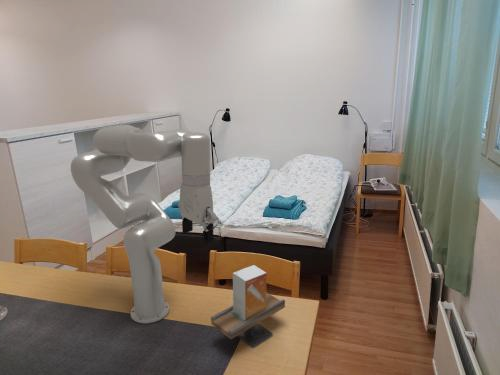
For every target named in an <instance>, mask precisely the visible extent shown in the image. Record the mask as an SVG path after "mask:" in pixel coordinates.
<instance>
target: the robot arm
mask: <svg viewBox="0 0 500 375" xmlns="http://www.w3.org/2000/svg"><path fill="white" fill-rule="evenodd" d="M210 142H211V141H210V136H209V134H207V133H205V132H198V131H197V132H195V131H194V132H193V131H189V130H186V129H183V128H174V129H168V130H167V129H166V130H162V131H156V132H147V133H146V132H144V130H142V129H141V128H139V127H135V126H133V125H131V124H120V125H113V126H112V125H111V126H106V127H102V128H100V129H98V130H97V131H96V132H95V133H94V135H93V137H92V143H93V146H94V148H95V149H96V150H92V151H86V152H83V153H81V154H78V155H76V156H75V157H73V159H72V160H71V163H70V172H71V173H70V174H71V177H72V179H73V181H74V183H75V184H76V186H77V187H78V189H80V191H82V192H83V194H85V195H86V196H87V197H89V198H90V199H91V200H92V201H93V202H94V203H95V205H97V207H98V208H99V210H100V211H101V212H102V213H103V215H104V216H105V217H106V218H107V219H108V221H109V222H110V223H111V225H113V226H114V227H115V228H117V229H120V230H123V229H125V228H126V229H127V228H129V227H130V228H129V229H127V231H126V232H125V233H124V235H123V238H122V240H123V246H124V249H125V252H126V254H127V258H128V263H129V269H130V275H131V276H130V277H131V285H132V286H131V287H132V293H133V294H132V296H133V303H134V306H132V308H131V310H130V318H131V320H132V321H134V322H136V323H139V324H152V323H157V322H159V321H161V320H163V319H164V318H165V317H167V315H168V314H169V312H170V305H169V303H168V302H167V301H166V300H165V298H164V287H163V276H162V266H161V261H160V259H159V257H158V256H157V255H156V254H155V251H156V250H157V249H158V248H160V247H162V246H164V245H166V244H167V243H169V242H171V241H172V240H173V239H174V238H175V236H176V227H175V224H174V222H173V221H172V219H171V218H170V216H169V215H167V213H166V212H165V210H164V209H162V207H161V206H160V205H159V203H157V201H156V200H155V198H153V197H152V196H151V195H149V194H148V193H145V192H135V193H133V194H130V195H126V194H124V193H123V192H122V191H121V190H120V188H119V187H118V186H117V185H116V184H115V183H113V182H111V181H109V180H107V179H105V178H102V177H103V176H107V175H111V174H115V173H118V172H121V171H122V170H124V169H125V168H127V167H126V166H127V165H128V164H129V162H130V161H131V159H133V160H134V161H138V162H148V163H149V162H150V163H151V162H152V163H157V162H158V163H160V162H163V161H167V160H171V159H175V158H179V157H180V158H181V159H180V160H181V184H180V190H179V201H178V202H177V205H178V209H179V210H178V211H179V214H180V215H181V216H180V219H181V228H182V229H181V230H182V233H183V234H187V233H190V232H192V231H193V230H194V229H193V227H194V226H193V225H194V224H193V223H195V224H198V225H199V224H201V225H202V229H203V230H202V244H203V245H204V246H205V245H208V244H211V243H213V242H214V230H216V229H215V228H216V227H217V226H218V222H219V217H218V215H217V214H216V213H215V212H214V201H213V192H212V187H211V143H210ZM140 222H141V223H140ZM207 223H208V225H207Z"/></svg>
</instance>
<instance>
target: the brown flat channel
mask: <svg viewBox="0 0 500 375" xmlns="http://www.w3.org/2000/svg"><path fill="white" fill-rule="evenodd" d="M284 308H286V299H281V300H280V299H279V298H277V297H275V296H273V295H271V294H270V293H268V292H266V309H265V310H264V311H262V312H260V313H258V314H257V315H255V316H253V317H251V318H250V319H248V320H246V321H245V320H244V319H243V318H241V317H240V316H239V315H238V314H236V313H235V312H234V311H233V305H231V306H229V307H227V308H226V309H223V310H221V311H219V312H218V313H216V314H214V315H213V316H210V320H211V325H212V326H213V327H214V328H215V329H217V330H218V331H219V332H221V334H223V335H224V336H226V337H227V338H228V339H229V340H233V339H234V338H236V337H237V336H238V335H239V334H241V333H243V332H244V331H246V330H248V329H249V328H251V327H253V326H254V325H256V324H258V323H259V324H260V323H261V322H263V321H264V320H266V319H268V318H269V317H271V316H273V315H274V314H277V312H280V311H282V310H283V309H284Z"/></svg>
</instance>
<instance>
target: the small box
mask: <svg viewBox="0 0 500 375" xmlns="http://www.w3.org/2000/svg"><path fill="white" fill-rule="evenodd" d="M266 293H267V272H266V271H264V269H263V270H262V269H261V268H259V267H258V266H257V265H255V264H253V265H250V266H247V267H244V268H242V269H239V270H236V271H234V272H232V306H233V311H234V312H235V313H236V314H238V315H239V316H240V317H241V318H243V319H244V320H245V321H246V320H248V319H250V318H251V317H253V316H255V315H257V314H258V313H260V312H262V311H264V310H265V309H266Z"/></svg>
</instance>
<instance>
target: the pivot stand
mask: <svg viewBox="0 0 500 375" xmlns="http://www.w3.org/2000/svg"><path fill="white" fill-rule="evenodd" d="M273 335H274V333H273V332H272V331H270V330H269V329H267V328H266V327H264V326H263V325H261V324H260V322H259V323H258V324H256V325H254V326H253V327H251V328H249V329H248V330H246V331H244V332H243V333H241V334H239V335H238V336H236V337H238V338H239V339H240V340H241V341H243V342H244V343H246V344H247V345H248V346H249V347H250V348H252V349H255V348H256V347H257V346H260V345H261V344H263V343H264V342H266V341H267V340H268V339H270V338H272V337H273Z"/></svg>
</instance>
